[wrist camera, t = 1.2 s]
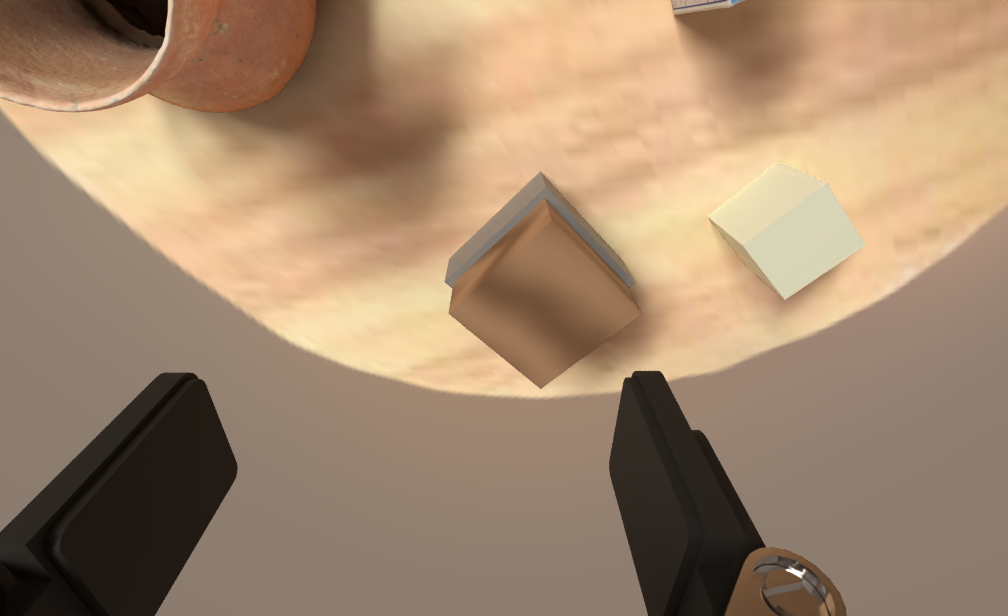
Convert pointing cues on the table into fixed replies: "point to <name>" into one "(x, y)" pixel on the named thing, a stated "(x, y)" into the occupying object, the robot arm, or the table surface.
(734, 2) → the medicine box
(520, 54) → the table surface
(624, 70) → the table surface
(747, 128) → the table surface
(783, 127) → the table surface
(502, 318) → the tower top block
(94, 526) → the robot arm
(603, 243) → the tower base block
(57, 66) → the ceramic jug
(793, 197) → the cream cube
